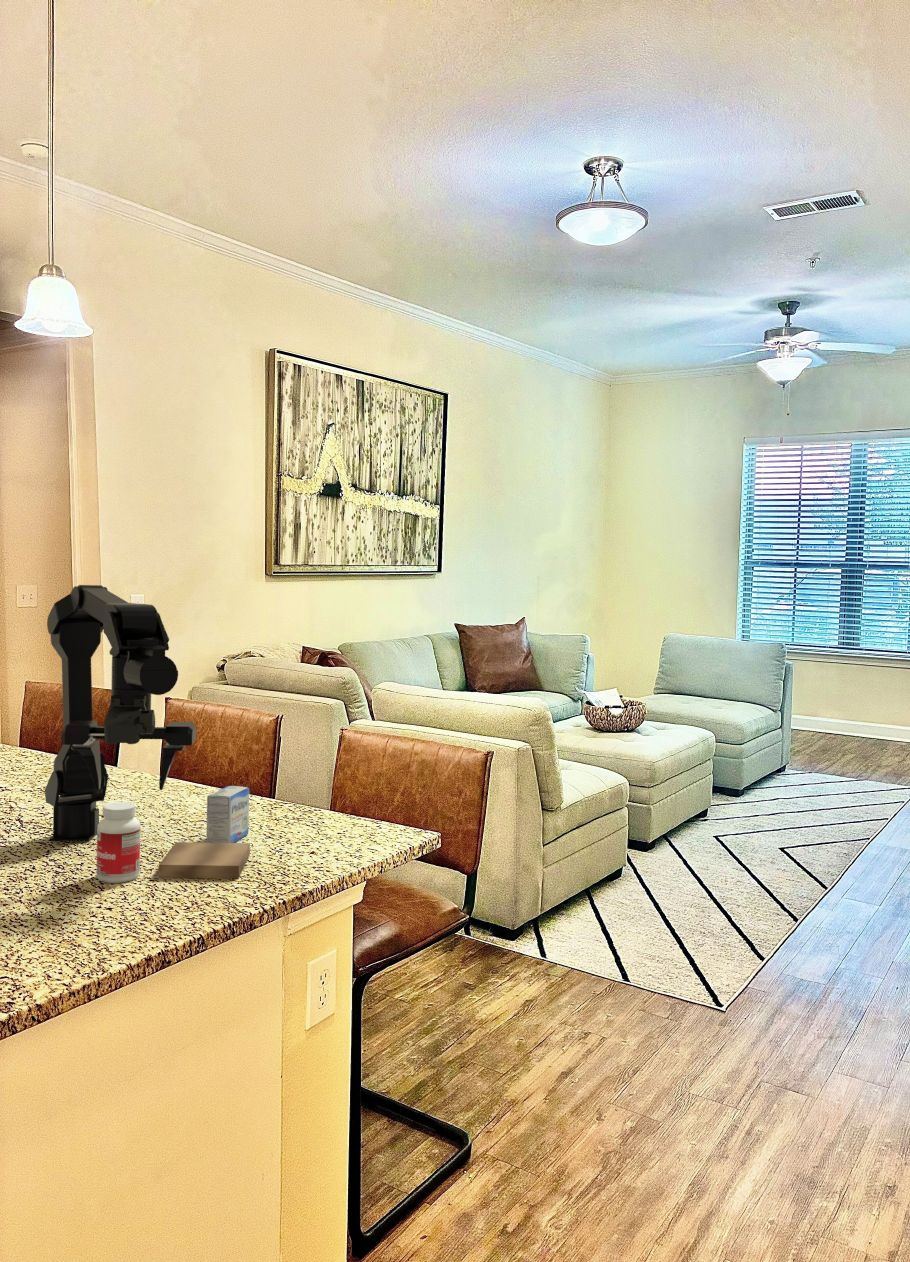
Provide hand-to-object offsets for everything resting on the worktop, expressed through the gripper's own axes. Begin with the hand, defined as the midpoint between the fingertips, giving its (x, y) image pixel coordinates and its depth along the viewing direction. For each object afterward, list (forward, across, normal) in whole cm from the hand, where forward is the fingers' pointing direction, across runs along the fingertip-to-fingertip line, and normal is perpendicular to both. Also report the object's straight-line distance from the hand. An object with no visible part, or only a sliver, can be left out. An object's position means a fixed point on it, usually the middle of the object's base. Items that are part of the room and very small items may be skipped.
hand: (129, 789), depth 144 cm
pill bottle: (+13, -1, -1) cm, 14 cm away
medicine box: (+13, +13, +19) cm, 27 cm away
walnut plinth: (+13, +11, +4) cm, 18 cm away
